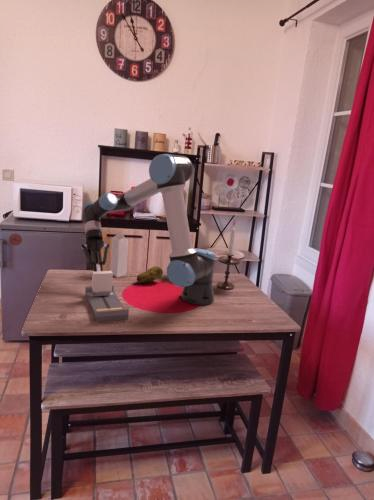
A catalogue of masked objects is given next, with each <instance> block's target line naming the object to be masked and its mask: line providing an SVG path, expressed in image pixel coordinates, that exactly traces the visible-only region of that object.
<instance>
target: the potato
mask: <svg viewBox="0 0 374 500" xmlns="http://www.w3.org/2000/svg"><path fill="white" fill-rule="evenodd" d="M163 273H164V271H163V269H162V268H161V267H159V266H157V265H156V266H152V267H150V268H148V269H147V270H146V271H143V272H141V273H140V274H138V275H137V276H136V281H137V282H138V283H140V284H143V283H151V282H154V281H156V280H158V279H162V276H163Z"/></svg>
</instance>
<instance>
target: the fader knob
mask: <svg viewBox="0 0 374 500" xmlns="http://www.w3.org/2000/svg"><path fill="white" fill-rule="evenodd" d="M91 273H92V275H91V286H92V291H93V292H94V294H95V296H106V295H110V291H112V285H113V282H114V281H113V280H114V279H113V278H114V275H113V273H112V271H110V270H103V271H96V272H94V271H92V272H91Z"/></svg>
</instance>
